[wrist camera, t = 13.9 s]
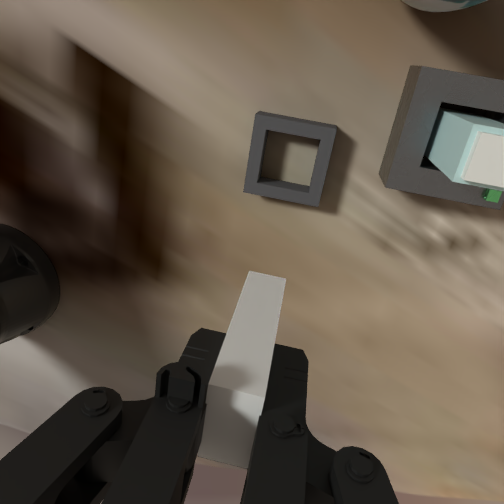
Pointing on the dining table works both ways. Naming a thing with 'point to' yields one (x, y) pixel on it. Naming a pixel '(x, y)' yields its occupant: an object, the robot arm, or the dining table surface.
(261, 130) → the holster
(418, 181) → the port panel
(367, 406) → the dining table surface
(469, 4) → the vase
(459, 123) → the plug
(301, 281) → the dining table surface
